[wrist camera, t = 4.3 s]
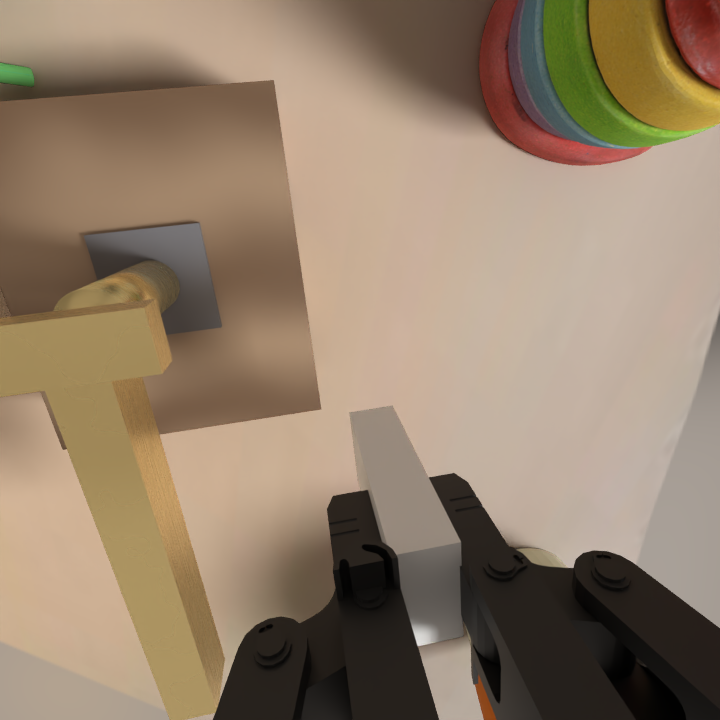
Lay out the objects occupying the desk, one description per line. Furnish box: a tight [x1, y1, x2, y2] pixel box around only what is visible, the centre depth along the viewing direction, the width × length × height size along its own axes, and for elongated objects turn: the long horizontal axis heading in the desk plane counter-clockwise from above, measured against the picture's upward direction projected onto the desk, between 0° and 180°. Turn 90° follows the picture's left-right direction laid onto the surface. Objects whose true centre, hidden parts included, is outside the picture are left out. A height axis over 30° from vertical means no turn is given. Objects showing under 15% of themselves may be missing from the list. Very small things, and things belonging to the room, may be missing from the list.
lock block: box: [0, 80, 321, 450], centre depth 21 cm, size 14×12×5 cm
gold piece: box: [0, 260, 225, 720], centre depth 16 cm, size 15×5×9 cm, turn 6°
